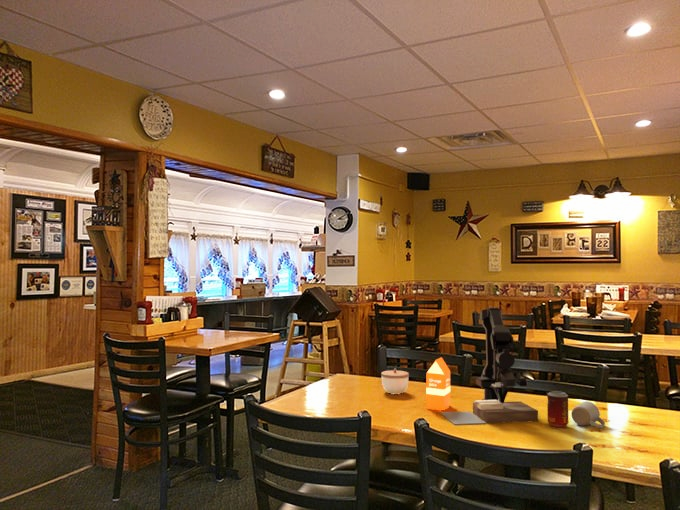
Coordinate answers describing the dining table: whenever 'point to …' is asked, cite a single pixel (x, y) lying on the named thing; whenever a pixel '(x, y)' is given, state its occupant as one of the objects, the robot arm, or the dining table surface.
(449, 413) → the rubber mat
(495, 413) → the walnut stand
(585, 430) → the dining table surface
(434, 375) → the orange juice
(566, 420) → the soda can
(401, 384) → the lidded bowl
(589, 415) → the ceramic mug
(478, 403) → the number block
